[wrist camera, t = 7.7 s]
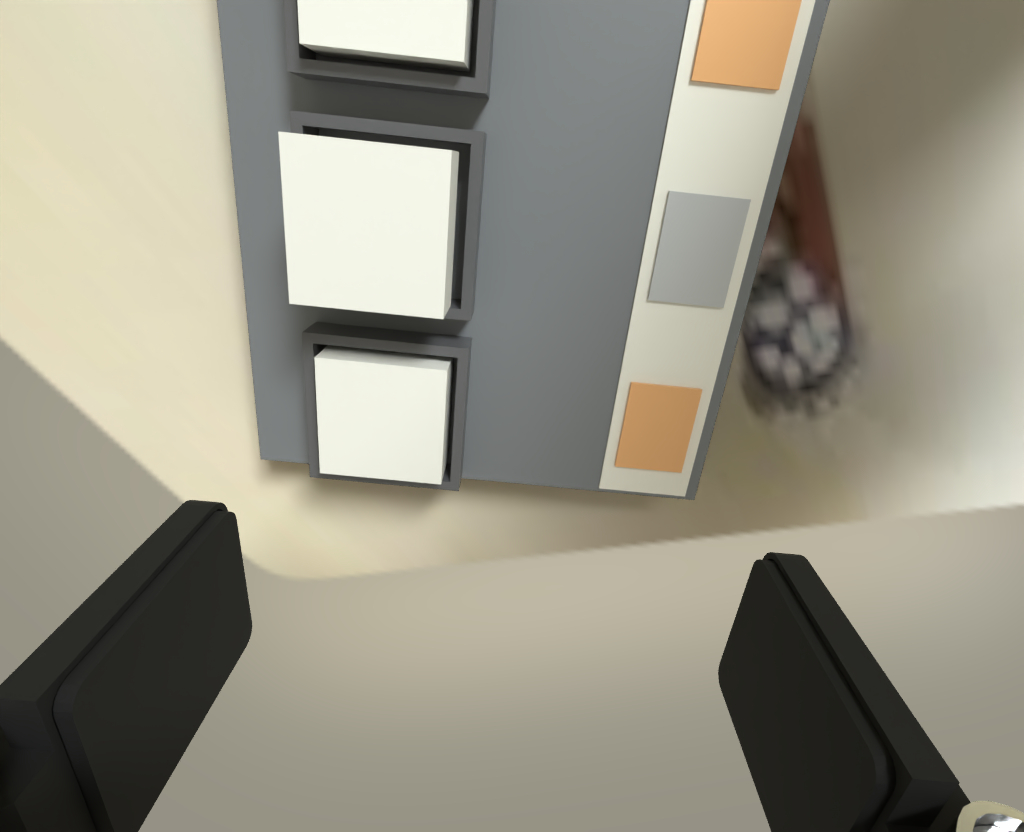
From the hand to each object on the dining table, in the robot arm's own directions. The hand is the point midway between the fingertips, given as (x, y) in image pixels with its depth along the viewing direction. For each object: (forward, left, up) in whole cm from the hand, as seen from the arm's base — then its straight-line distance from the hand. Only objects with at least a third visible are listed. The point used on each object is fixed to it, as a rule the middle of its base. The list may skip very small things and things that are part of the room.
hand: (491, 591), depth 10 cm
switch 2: (+5, -5, -12) cm, 14 cm away
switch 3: (+5, +3, -14) cm, 15 cm away
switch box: (+1, -5, -17) cm, 18 cm away
